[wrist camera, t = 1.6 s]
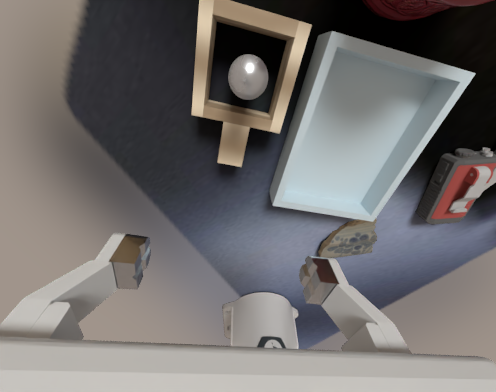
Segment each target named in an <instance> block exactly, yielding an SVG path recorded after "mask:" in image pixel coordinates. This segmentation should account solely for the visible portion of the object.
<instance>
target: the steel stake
mask: <svg viewBox="0 0 496 392" xmlns="http://www.w3.org/2000/svg"><path fill="white" fill-rule="evenodd" d="M228 80H229V85H230V88H231V89H232V91H233V92H234V94H235V95H236V96H238V97H239V98H241V99H244V100H252V99H255V98H257V97H259V96H260V95H261V94H262V93H263V92H264V90H265V88H266V86H267V83H268V71H267V68H266V66H265V64H264V62H263V61H262V60H261V59H260V58H259V57H257V56H255V55H251V54H245V55H242V56H240V57H238V58H237V59H236V60H235V61H234V62H233V63H232V65H231V67H230V69H229V74H228Z"/></svg>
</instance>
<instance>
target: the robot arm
mask: <svg viewBox="0 0 496 392" xmlns="http://www.w3.org/2000/svg"><path fill="white" fill-rule="evenodd" d="M149 244H150V238H149V237H144V236H137V235H130V234H122V233H114V234H113V235H112V236H111V238H110V239H109V240H108V242H107V243H106V245H105V246H104V247H103V249H102V250H101V252H100V253H99V255H98V256H97V258H96V259H95V260H94V261H92V260H91V261H89V262H87V263H85V264H84V265H81V266H80V267H78V268H76V269H74V270H73V271H71V272H69V273H67V274H66V275H64V276H62V277H60V278H59V279H57V280H55V281H53V282H51V283H50V284H48V285H46V286H44V287H43V288H41V289H39V290H37V291H35V292H34V293H32V294H30V295H28V296H27V297H25V298H23V299H22V301H21V302H20V303H19V304H18V305H17V306H16V307H15V309H14V310H13V311H12V312H11V313H10V314H9V315H8V316H7V318H6V319H5V320H4V321H3V322H2V323H1V324H0V392H496V363H495V362H493V361H492V360H490V359H487V358H484V357H478V356H453V355H452V356H451V355H430V354H429V355H428V354H412V353H411V352H410V350H409V348H408V347H407V345H406V343H405V341H404V340H403V338H402V337H401V335H400V333H399V331H398V330H397V328H396V326H395V325H394V323H393V322H391V321H390V320H389V319H388V318H387V317H386V316H385V315H384V314H383V313H381V312H380V311H379V310H378V309H377V308H376V307H375V306H374V305H373V304H371V303H370V302H369V301H368V300H367V299H366V298H365V297H364V296H363V295H361V294H360V293H359V292H358V291H357V290H356V289H355V288H354V287H353V286H349V284H348V282H347V280H346V278H345V276H344V274H343V272H342V270H341V268H340V266H339V264H338V262H337V260H336V259H332V258H324V257H315V256H308V257H307V258H306V259H305V262H306V264H304V265H302V267H301V269H300V273H299V277H300V282H301V284H302V285H303V286H304V287H305V288H304V290H303V293H304V296H305V300H306V303H311V304H320V305H321V306H322V307H323V308H324V309H325V311H326V312H327V313H328V315H329V316H330V317H331V319H332V320H333V321H334V322H335V324H336V325H337V326H338V328H339V329H340V330H341V331H342V333H343V334H344V335H345V337H346V338H347V339H348V341H347V342H346V343H345V344H344V345H343V346H342V348H341V349H342V351H334V350H333V351H332V350H310V349H298V340H297V333H296V326H295V318H296V317H297V316H298V310H297V309H295V308H293V307H292V306H291V305H290V303H289V301H288V300H287V299H286V298H284V297H283V296H281V295H278V294H274V293H268V292H259V293H252V294H248V295H245V296H243V297H241V298H239V299H238V300H236V301H233V302H229V303H226V304H224V305H223V307H222V308H223V321H224V332H225V337H226V338H229V339H231V346H216V345H192V344H167V343H143V342H120V341H119V342H118V341H96V340H82V339H83V334H82V331H81V329H80V327H79V325H78V323H79V322H80V321H81V320H82V319H83V318H84V317H86V316H87V315H88V314H89V313H90V312H91V311H93V310H94V309H95V308H96V307H97V306H99V305H100V304H101V303H102V302H103V301H104V300H106V298H108V297H109V296H110V295H111V294H112V293H114V292H115V291H116V290H117V288H119V289H138V287H139V284H140V282H141V280H142V277H143V270H145V269H146V268H147V265H148V263H149V259H150V253H151V250H150V248H149V247H148V246H149Z"/></svg>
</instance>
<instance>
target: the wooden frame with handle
mask: <svg viewBox="0 0 496 392" xmlns="http://www.w3.org/2000/svg"><path fill="white" fill-rule="evenodd" d="M217 22H221V23H225V24H228V25H232V26H235V27H239V28H242V29H246V30H249V31H253V32H257V33H260V34H264V35H267V36H271V37H274V38H278V39H282V40H285V41H287V42H286V46H285V50H284V54H283V58H282V61H281V65H280V69H279V73H278V77H277V81H276V85H275V89H274V93H273V97H272V101H271V105H270V109H269V112H268V113H265V112H261V111H256V110H252V109H247V108H243V107H238V106H234V105H229V104H225V103H221V102H216V101H212V100H208V99H209V90H210V81H211V71H212V62H213V52H214V43H215V33H216V24H217ZM311 26H312V25H311V24H307V23H304V22H301V21H297V20H294V19H291V18H287V17H284V16H280V15H277V14H274V13H270V12H267V11H264V10H260V9H257V8H254V7H250V6H247V5H243V4H240V3H237V2H233V1H230V0H199V13H198V28H197V42H196V57H195V71H194V86H193V100H192V115H195V116H199V117H204V118H209V119H213V120H218V121H223V129H222V136H221V142H220V149H219V156H218V162H217V163H222V164H228V165H233V166H238V167H241V166H242V162H243V157H244V152H245V148H246V143H247V139H248V134H249V129H250V127H251V128H256V129H260V130H265V131H270V132H275V133H279V134H280V131H281V127H282V124H283V120H284V117H285V114H286V110H287V107H288V104H289V100H290V97H291V93H292V90H293V87H294V83H295V80H296V77H297V73H298V70H299V67H300V63H301V60H302V56H303V53H304V50H305V46H306V43H307V40H308V36H309V33H310V29H311Z"/></svg>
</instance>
